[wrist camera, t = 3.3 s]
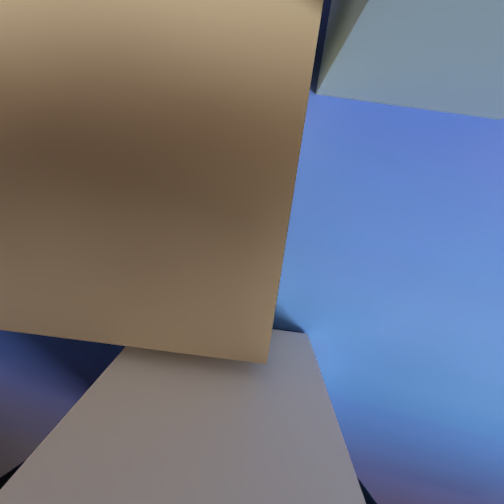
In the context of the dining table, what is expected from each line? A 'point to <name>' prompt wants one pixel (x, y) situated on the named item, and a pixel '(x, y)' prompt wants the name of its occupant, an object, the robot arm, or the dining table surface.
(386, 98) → the teal grey cube
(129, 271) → the beech slab
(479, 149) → the dining table surface
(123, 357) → the white block
